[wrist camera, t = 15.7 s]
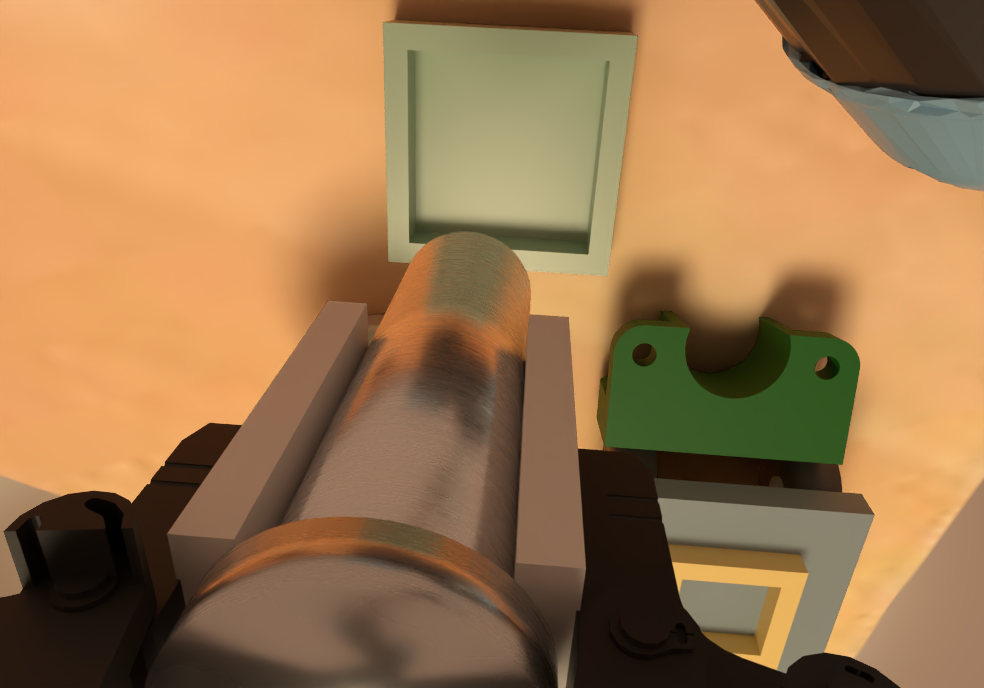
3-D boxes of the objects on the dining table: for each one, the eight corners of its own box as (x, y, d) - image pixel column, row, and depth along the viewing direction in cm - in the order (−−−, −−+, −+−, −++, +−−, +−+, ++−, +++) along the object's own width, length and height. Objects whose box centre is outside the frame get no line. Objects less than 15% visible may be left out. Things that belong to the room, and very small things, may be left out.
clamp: (758, 304, 41) (894, 339, 33) (744, 404, 42) (870, 461, 34) (571, 304, 37) (672, 345, 28) (562, 415, 38) (655, 484, 30)
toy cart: (600, 400, 39) (614, 502, 32) (820, 416, 39) (889, 524, 31) (577, 575, 45) (584, 697, 37) (768, 591, 45) (814, 717, 37)
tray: (394, 19, 31) (382, 22, 29) (631, 32, 31) (638, 35, 29) (398, 244, 36) (388, 261, 34) (603, 258, 36) (607, 276, 33)
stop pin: (382, 205, 17) (105, 572, 6) (558, 217, 17) (580, 614, 6) (386, 359, 19) (176, 845, 8) (543, 372, 19) (541, 883, 8)
